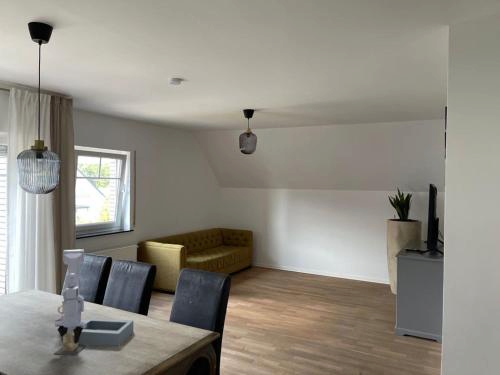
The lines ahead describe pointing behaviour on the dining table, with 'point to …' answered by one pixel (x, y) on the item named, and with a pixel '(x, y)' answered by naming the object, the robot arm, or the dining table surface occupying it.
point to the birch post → (69, 342)
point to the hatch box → (105, 332)
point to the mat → (70, 351)
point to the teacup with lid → (62, 308)
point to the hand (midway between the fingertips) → (70, 342)
